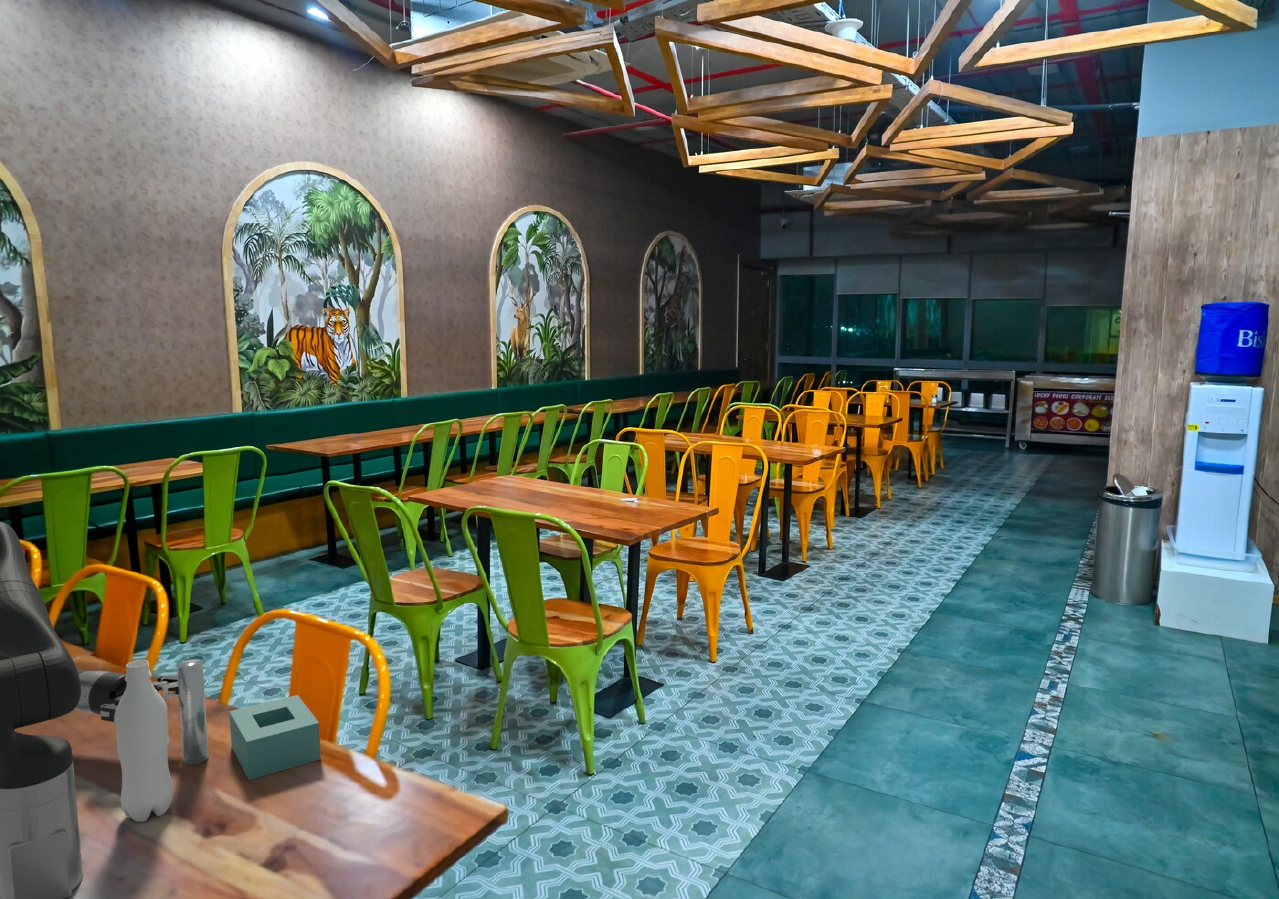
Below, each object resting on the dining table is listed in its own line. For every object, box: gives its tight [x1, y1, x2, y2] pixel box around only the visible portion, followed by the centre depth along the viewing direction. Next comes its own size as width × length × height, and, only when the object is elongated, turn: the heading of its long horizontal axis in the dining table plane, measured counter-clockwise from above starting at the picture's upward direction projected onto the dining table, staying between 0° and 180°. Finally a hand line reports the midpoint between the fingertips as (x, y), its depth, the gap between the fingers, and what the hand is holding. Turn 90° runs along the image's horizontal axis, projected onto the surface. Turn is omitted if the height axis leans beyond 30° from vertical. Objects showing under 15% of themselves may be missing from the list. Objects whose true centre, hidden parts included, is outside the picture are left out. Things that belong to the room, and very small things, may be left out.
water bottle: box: [113, 659, 174, 823], centre depth 130 cm, size 7×7×25 cm
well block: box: [229, 694, 322, 781], centre depth 150 cm, size 14×12×7 cm
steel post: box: [176, 658, 210, 766], centre depth 147 cm, size 4×4×18 cm
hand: (180, 702), depth 147 cm, fingers open, 8 cm apart
